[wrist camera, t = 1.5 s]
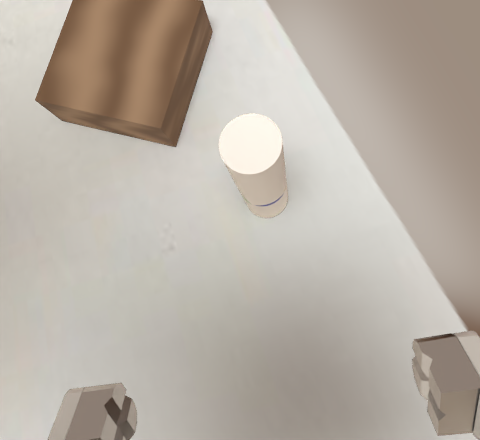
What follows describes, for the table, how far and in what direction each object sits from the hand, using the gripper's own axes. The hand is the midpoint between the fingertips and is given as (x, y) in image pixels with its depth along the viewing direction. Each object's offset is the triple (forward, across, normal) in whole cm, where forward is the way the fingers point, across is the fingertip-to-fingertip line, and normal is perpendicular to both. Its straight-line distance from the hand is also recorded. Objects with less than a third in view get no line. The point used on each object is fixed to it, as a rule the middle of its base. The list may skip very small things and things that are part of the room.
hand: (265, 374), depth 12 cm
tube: (+29, 0, +12) cm, 32 cm away
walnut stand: (+41, +12, 0) cm, 43 cm away
